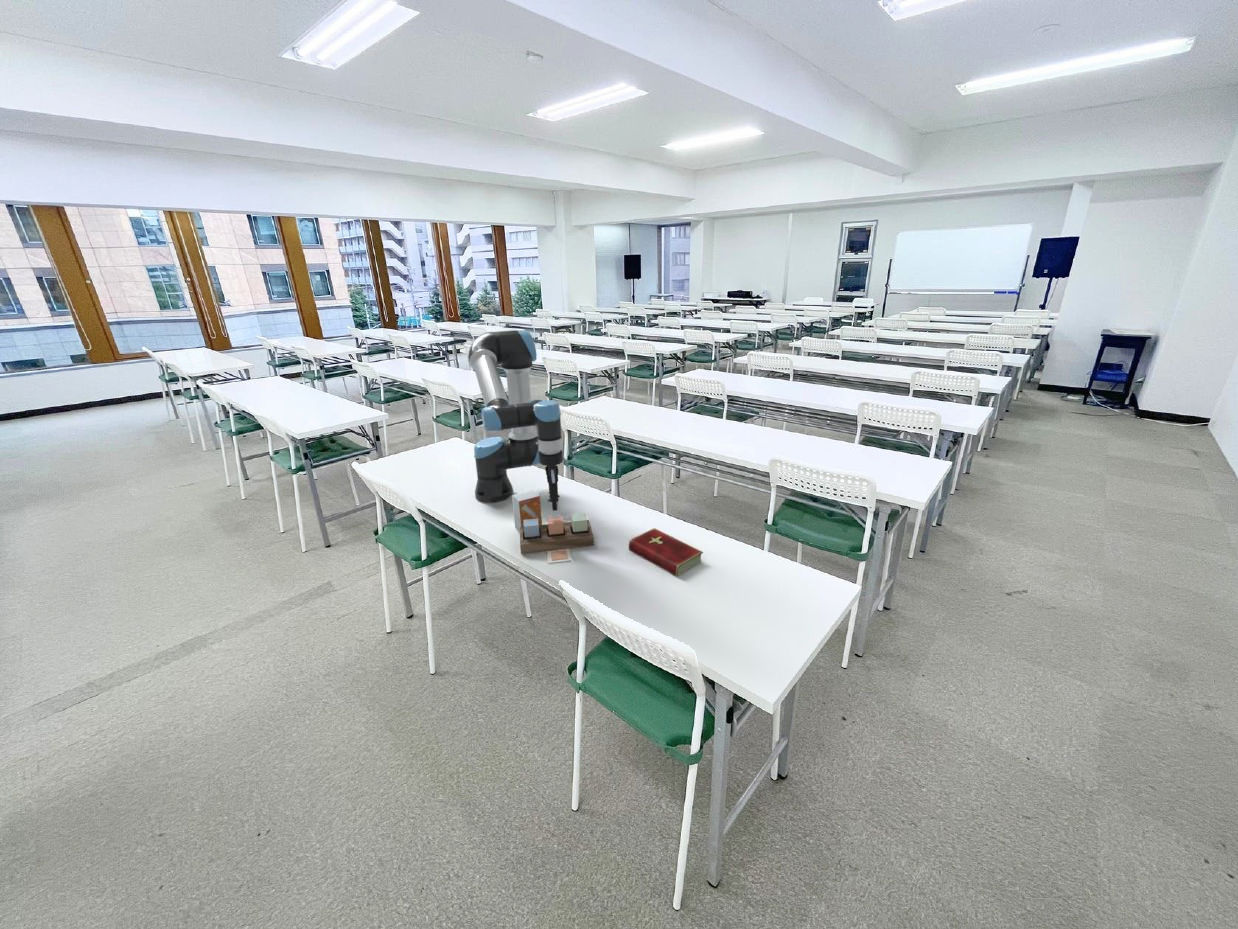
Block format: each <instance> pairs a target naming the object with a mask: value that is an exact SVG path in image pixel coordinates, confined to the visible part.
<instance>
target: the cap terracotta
mask: <svg viewBox="0 0 1238 929" xmlns="http://www.w3.org/2000/svg"><path fill="white" fill-rule="evenodd" d="M563 523H564V520H563V516H562V515H559V518H555V519H551V516H548V517H547V524H548V529H549V535H551V534H553V535H554V534H561V533H564V529H563Z"/></svg>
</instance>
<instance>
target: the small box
mask: <svg viewBox="0 0 1238 929" xmlns="http://www.w3.org/2000/svg"><path fill="white" fill-rule="evenodd" d="M511 500H512V508H513V510H512V512H513V520H514V528H515V529H516V531H518V532H519V533H520V527H524V522H523V520H527V519H537V518H538V524H539V525H543V520H542V518H543V516H542V507H541V506H542V505H541V495H539V494H538V493H537V492H536V491H535V490H533V489H532V490H531V489H530V490H528V491H523V492H519V493H516V494H512V496H511Z"/></svg>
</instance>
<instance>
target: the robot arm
mask: <svg viewBox="0 0 1238 929" xmlns="http://www.w3.org/2000/svg"><path fill="white" fill-rule="evenodd" d="M467 355H468V362H469V366H470V367H471V369H473V371H474V373H475V375H476V376H475V377H476V379H477V383H478V386H479V390H480V392H481V396H482V399H483V400H482V401H483V403H484V406H485V407H483V408H481V421H482V425H483V428H484V430H485V431H486V432H493V431H496V432H497V431H504V430H510V429H511V431H510V432H509V433H508V437H507V438H508V439H506V440H505V439H504V438H503V437H501V436H491V437H486V438H483V439H481V440H479V441H478V442H476V443H475V445H474V446H473V447H474V448H473V451H474V455H473V456H474V457H473V458H474V460H475V468H476V475H477V476H476V478H477V481H476V485H475V488H474V495H475V499H476V500H478V501H479V502H482V503H483V502H484V503H495V502H497V503H498V502H502V501H504V500H507V499H510V497H512V495H514V488H513V485H512V483H511V481H510V478H509V476H508V473H507V470H510V469H517V468H524V467H525V468H526V467H532V466H535V465H539V464H540V465H542V466H544V469H545V474H546V481H547V483H548V484H547V485H548V494H549V497H548V498H549V499H547V502H549V509H550V517H551V519H555V518H559V516H560V508H559V500H560V494H559V487H558V486H559V485H558V484H559V483H558V482H559V468H558V465H560V464H562V463H563V461H564V454H563V453H564V452H563V437H562V422H561V420H562V419H561V414H562V413H561V410H560V409H561V408H560V404H559V403H558V401H555V400H554V401H553V400H542V399H538V398H534V399H532V396H531V395H532V394H531V393H532V392H531V383H530V382H531V381H530V370H532V368H533V362H535V361H537V348H536V345H535V341H534V339H533V336H532V334H531V333H530V332H529V331H528V330H526V329H525V330H524V329H521V330H520V329H514V330H502V331H499V330H498V331H487V332H484V333H482V334H480V335H478V336H477V337H476V338H475V339H474V341H473V342H472V343H471V346H470V347H469V351H468V354H467ZM497 365H501V370H503V371H504V372H505V374H506V384H507V394H506V390H505V388H504V387H505V386H504V384H503V382H502V378H501V376H500V372H499V369H498V367H497ZM534 426H536V430H534Z"/></svg>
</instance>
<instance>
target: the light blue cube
mask: <svg viewBox="0 0 1238 929" xmlns="http://www.w3.org/2000/svg"><path fill="white" fill-rule="evenodd" d="M523 522H524V535H525V537H535V536H539V524H538V518H537V519H527V520H523Z"/></svg>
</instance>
